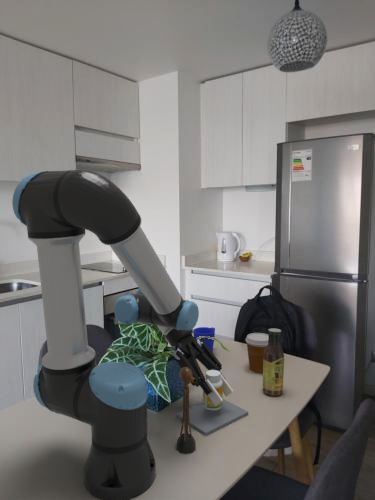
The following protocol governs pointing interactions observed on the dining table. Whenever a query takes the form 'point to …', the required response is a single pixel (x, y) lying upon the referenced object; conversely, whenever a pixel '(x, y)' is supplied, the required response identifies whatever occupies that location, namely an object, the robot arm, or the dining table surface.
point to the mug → (205, 332)
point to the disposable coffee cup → (256, 350)
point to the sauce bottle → (273, 364)
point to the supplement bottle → (218, 385)
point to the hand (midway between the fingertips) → (224, 398)
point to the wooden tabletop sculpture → (186, 415)
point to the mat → (213, 417)
